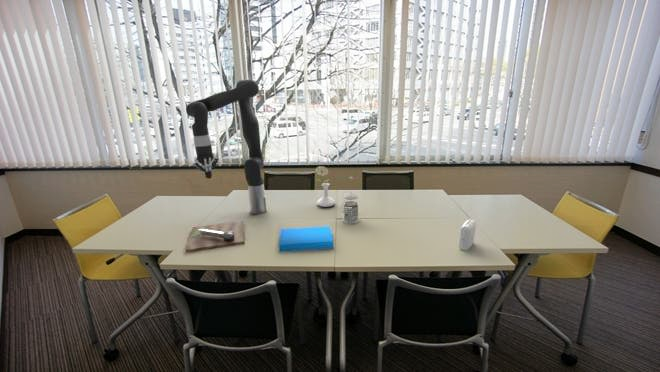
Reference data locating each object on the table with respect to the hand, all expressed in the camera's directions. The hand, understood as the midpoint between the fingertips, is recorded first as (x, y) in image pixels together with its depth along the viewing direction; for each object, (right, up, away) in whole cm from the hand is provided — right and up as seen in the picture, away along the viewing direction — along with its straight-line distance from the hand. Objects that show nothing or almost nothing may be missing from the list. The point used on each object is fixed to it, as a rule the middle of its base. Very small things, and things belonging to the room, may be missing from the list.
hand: (208, 178), depth 156 cm
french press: (+73, -23, +15) cm, 78 cm away
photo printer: (+124, -32, -14) cm, 129 cm away
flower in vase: (+58, -16, +38) cm, 71 cm away
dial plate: (+5, -30, -1) cm, 30 cm away
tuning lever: (+6, -29, -5) cm, 30 cm away
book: (+50, -31, -7) cm, 59 cm away
